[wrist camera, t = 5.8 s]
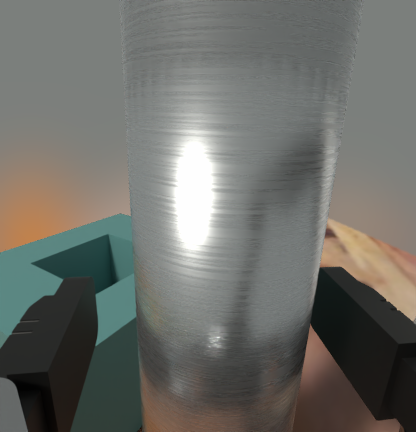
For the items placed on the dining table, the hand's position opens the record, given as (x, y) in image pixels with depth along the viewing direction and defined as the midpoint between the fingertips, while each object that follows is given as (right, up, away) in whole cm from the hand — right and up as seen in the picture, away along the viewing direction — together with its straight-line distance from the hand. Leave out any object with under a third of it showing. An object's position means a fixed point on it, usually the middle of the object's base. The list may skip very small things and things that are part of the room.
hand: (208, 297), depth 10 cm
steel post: (0, -11, +1) cm, 11 cm away
